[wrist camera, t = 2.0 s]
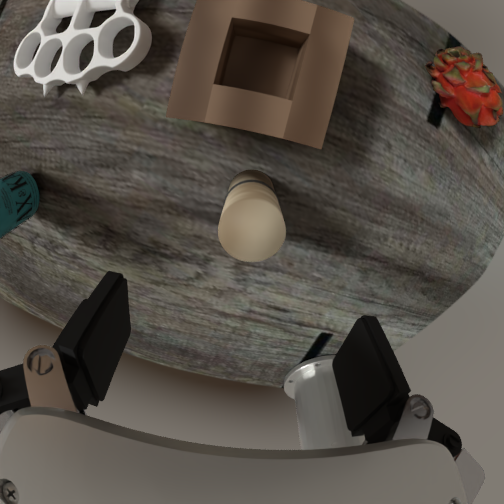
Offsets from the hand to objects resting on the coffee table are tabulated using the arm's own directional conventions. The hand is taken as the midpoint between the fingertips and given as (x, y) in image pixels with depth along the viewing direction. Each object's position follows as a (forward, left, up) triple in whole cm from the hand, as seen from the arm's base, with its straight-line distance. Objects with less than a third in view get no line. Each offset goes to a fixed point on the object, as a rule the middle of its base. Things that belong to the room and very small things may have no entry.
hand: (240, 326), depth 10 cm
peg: (0, 0, -19) cm, 19 cm away
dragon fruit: (-19, -19, -19) cm, 33 cm away
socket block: (+2, -12, -19) cm, 22 cm away
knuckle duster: (+22, -15, -19) cm, 33 cm away
